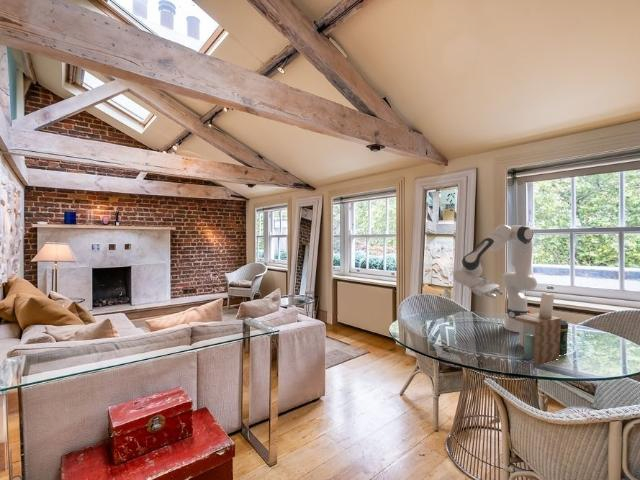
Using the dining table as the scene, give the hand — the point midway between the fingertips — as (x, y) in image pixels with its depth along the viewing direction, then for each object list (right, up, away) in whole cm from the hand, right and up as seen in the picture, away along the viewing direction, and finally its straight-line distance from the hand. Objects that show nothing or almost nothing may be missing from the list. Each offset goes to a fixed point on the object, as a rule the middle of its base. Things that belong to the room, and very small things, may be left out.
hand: (499, 295), depth 189 cm
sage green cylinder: (+5, -30, -20) cm, 36 cm away
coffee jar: (+24, -30, -14) cm, 41 cm away
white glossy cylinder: (+13, -8, -20) cm, 25 cm away
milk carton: (+15, -29, -2) cm, 33 cm away
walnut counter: (+8, -30, -21) cm, 37 cm away
